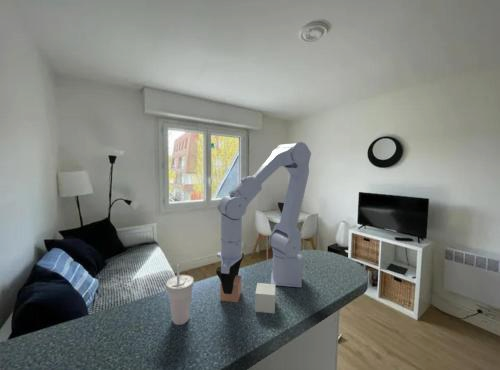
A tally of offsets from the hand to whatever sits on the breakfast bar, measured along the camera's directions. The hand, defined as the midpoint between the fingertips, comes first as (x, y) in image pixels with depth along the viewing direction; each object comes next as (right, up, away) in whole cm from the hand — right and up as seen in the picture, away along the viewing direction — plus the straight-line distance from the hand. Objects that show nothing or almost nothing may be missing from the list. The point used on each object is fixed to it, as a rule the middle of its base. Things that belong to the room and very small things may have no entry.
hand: (230, 285), depth 63 cm
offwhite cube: (+10, -4, -4) cm, 11 cm away
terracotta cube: (0, -3, 0) cm, 3 cm away
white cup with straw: (-11, -4, -9) cm, 15 cm away
